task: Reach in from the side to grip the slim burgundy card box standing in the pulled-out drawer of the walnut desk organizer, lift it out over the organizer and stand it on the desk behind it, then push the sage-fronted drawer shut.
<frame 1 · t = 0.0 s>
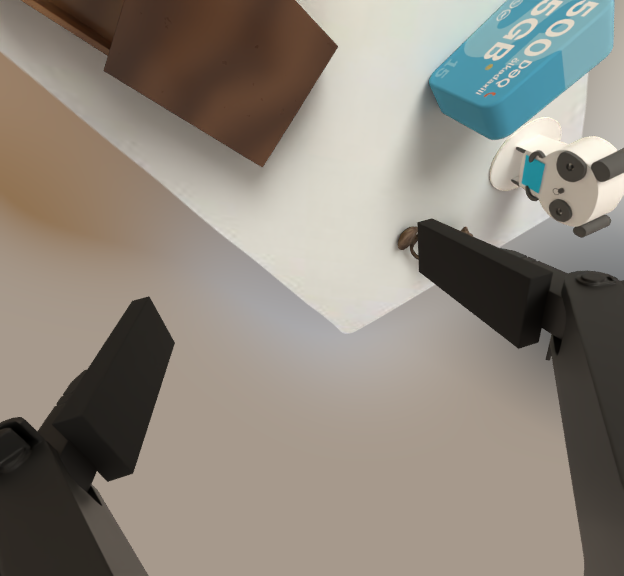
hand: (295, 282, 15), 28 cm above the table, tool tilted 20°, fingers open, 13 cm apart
vintage travel clock: (428, 233, 55), on the table
data package: (472, 54, 36), on the table
organizer: (223, 47, 29), on the table
panda figurine: (523, 154, 48), on the table
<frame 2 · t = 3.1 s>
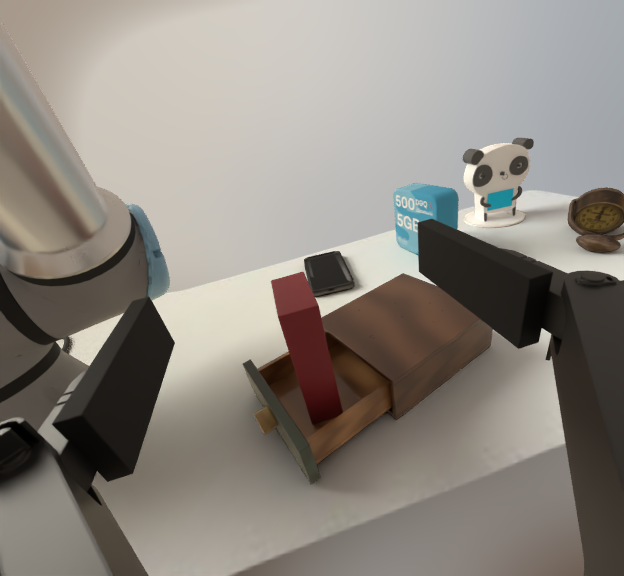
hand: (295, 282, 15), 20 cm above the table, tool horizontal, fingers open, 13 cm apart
vintage travel clock: (589, 238, 51), on the table
card box: (320, 394, 32), point 1 cm above the table, touching drawer
data package: (424, 251, 59), on the table
organizer: (401, 350, 37), on the table
phone: (327, 274, 59), on the table
panda figurine: (491, 219, 66), on the table
drawer: (330, 378, 32), point 3 cm above the table, slide at 8.5 cm, touching card box
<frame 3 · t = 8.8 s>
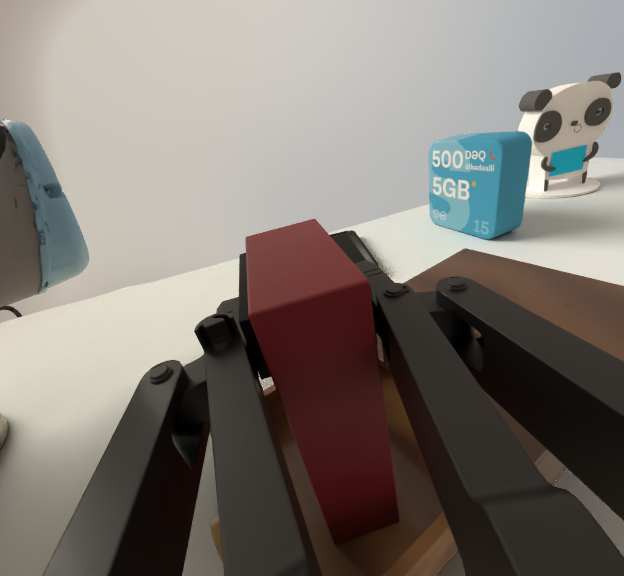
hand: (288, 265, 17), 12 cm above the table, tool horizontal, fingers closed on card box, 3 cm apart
card box: (346, 466, 17), point 1 cm above the table, touching drawer, gripper
data package: (470, 228, 44), on the table
organizer: (478, 372, 22), on the table
phone: (339, 259, 43), on the table
panda figurine: (551, 189, 51), on the table
drawer: (365, 434, 17), point 3 cm above the table, slide at 8.5 cm, touching card box
when the fingers open (10 cm above the table, at t = 18.2 s): card box stays where it is, on the table.
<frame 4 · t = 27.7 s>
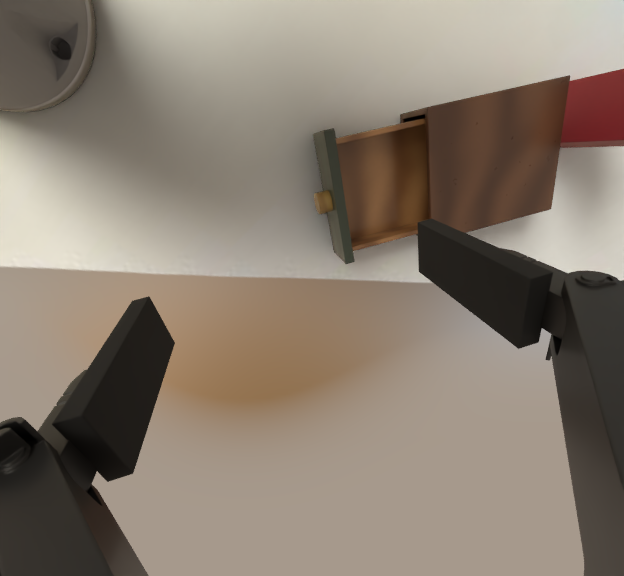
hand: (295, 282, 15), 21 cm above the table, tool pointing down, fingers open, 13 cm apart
card box: (564, 116, 36), on the table
organizer: (462, 162, 36), on the table
drawer: (392, 185, 32), point 3 cm above the table, slide at 8.5 cm
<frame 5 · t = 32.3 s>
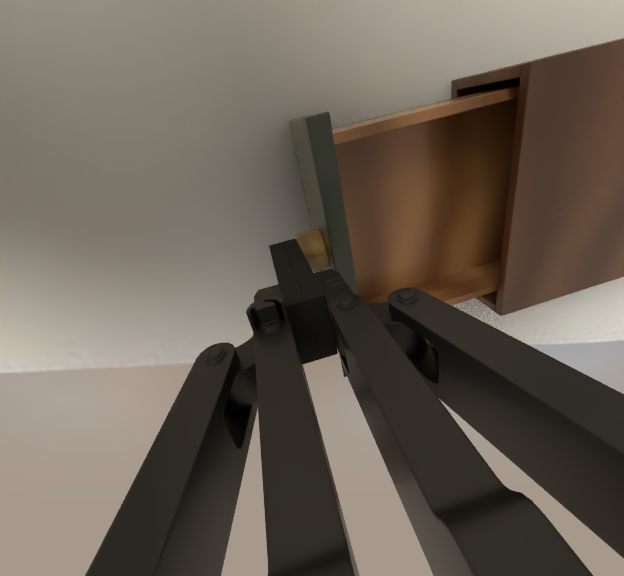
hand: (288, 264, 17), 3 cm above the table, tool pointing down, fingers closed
organizer: (550, 167, 21), on the table
drawer: (438, 215, 18), point 3 cm above the table, slide at 8.2 cm, touching gripper
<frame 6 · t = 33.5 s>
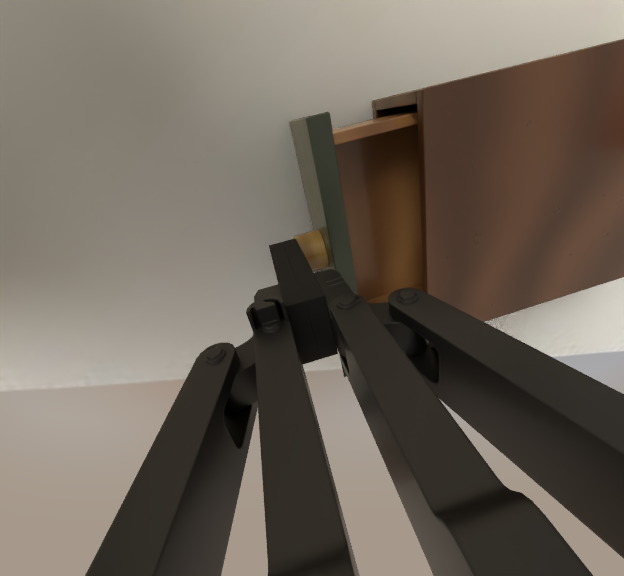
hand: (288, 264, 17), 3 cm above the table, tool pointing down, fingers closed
organizer: (486, 185, 20), on the table
drawer: (438, 215, 18), point 3 cm above the table, slide at 3.4 cm, touching gripper
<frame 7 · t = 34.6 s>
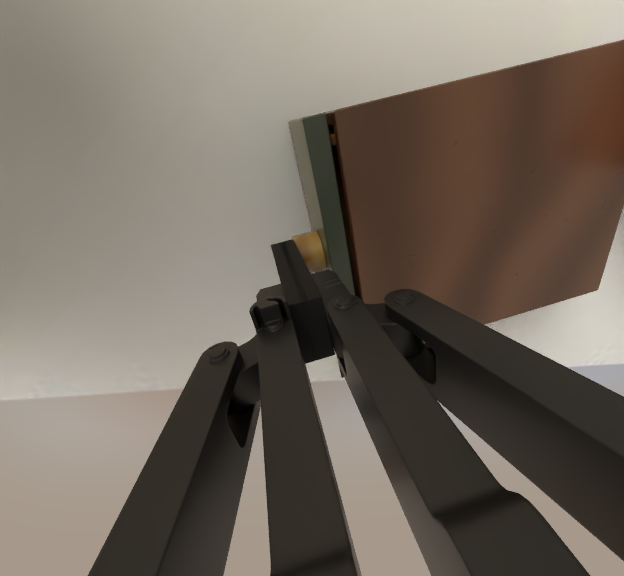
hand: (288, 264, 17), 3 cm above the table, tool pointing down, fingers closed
organizer: (439, 200, 20), on the table
drawer: (437, 217, 17), point 3 cm above the table, slide at -0.1 cm, touching gripper
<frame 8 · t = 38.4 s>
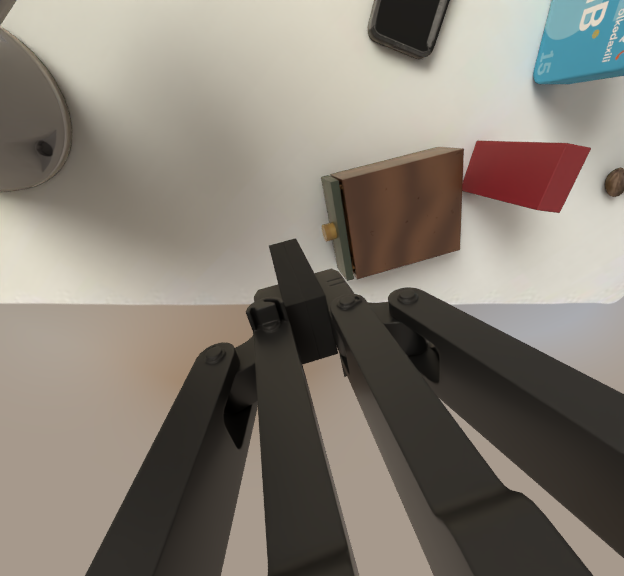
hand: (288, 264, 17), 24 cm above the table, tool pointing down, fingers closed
card box: (477, 167, 42), on the table
data package: (558, 27, 37), on the table
organizer: (388, 209, 42), on the table
drawer: (384, 216, 40), point 3 cm above the table, slide at 0.0 cm
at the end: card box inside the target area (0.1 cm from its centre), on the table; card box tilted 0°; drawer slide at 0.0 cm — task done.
